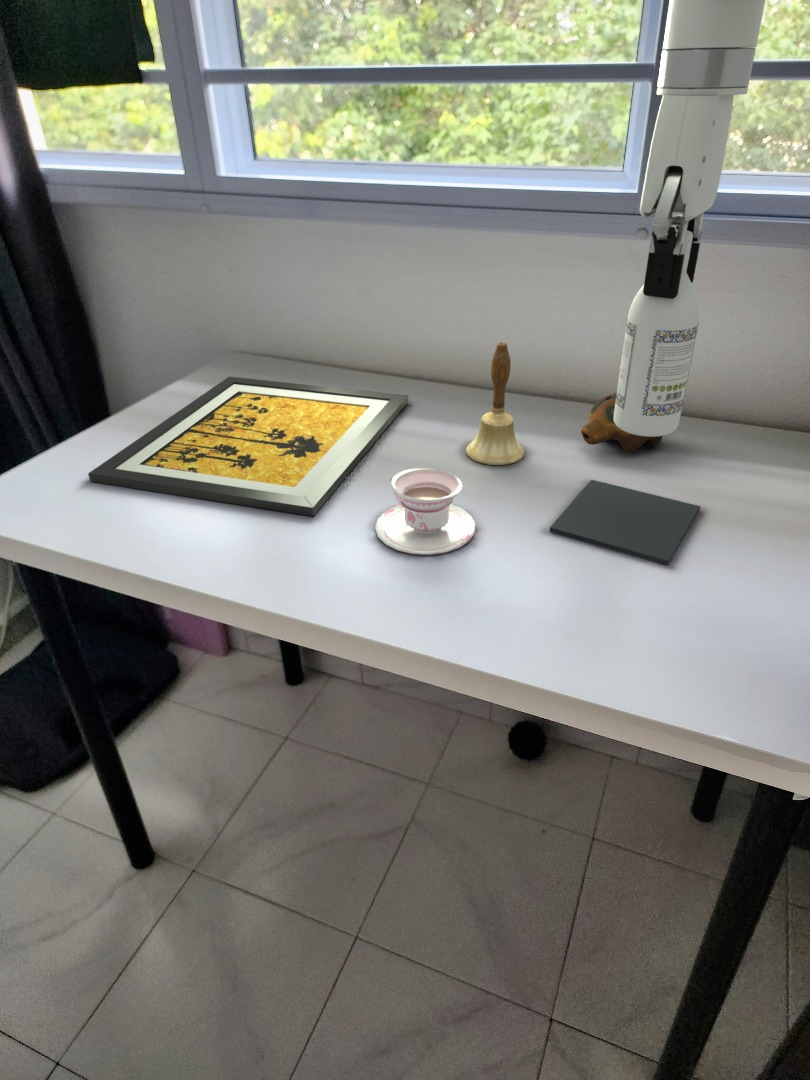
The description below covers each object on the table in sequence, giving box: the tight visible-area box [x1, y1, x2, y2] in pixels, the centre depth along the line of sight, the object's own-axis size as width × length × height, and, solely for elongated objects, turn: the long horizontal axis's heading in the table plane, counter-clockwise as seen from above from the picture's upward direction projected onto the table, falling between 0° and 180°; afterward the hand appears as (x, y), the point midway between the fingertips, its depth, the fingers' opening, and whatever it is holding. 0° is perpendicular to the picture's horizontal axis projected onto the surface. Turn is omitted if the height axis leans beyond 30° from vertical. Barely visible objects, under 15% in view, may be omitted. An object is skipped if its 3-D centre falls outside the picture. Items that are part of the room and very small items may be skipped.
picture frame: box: [87, 376, 409, 517], centre depth 112 cm, size 38×1×33 cm
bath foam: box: [614, 230, 700, 437], centre depth 77 cm, size 7×7×20 cm
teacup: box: [374, 467, 476, 556], centre depth 88 cm, size 12×12×6 cm
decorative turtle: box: [580, 392, 664, 454], centre depth 107 cm, size 10×15×8 cm, turn 122°
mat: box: [549, 479, 701, 566], centre depth 91 cm, size 14×14×1 cm
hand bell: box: [465, 342, 525, 466], centre depth 103 cm, size 8×8×16 cm
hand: (668, 287), depth 74 cm, fingers closed on bath foam, 5 cm apart
